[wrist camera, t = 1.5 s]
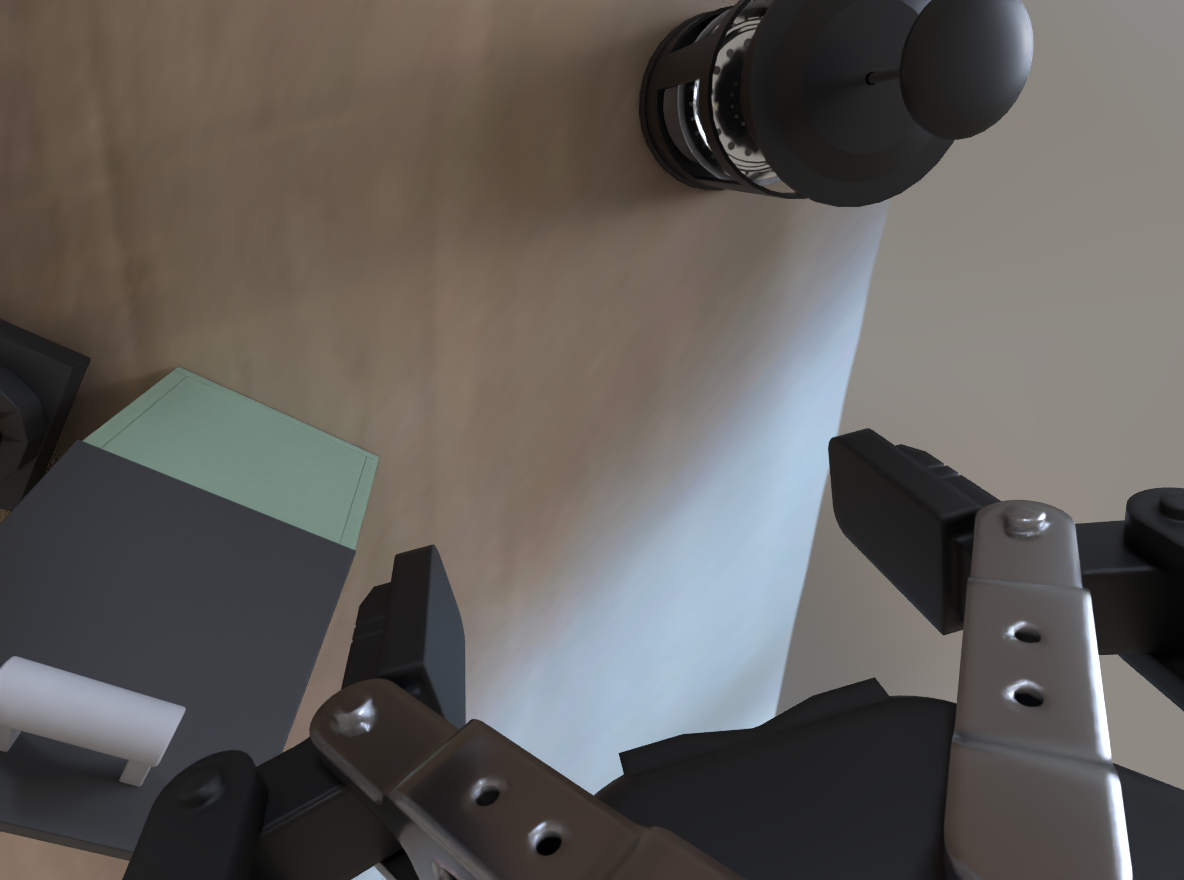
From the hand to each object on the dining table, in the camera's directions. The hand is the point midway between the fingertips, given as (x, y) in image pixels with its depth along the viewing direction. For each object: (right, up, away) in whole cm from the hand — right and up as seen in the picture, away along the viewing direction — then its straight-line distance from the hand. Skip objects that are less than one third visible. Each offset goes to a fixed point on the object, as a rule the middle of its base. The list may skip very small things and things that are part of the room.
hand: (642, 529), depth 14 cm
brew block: (-35, +4, +27) cm, 45 cm away
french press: (+6, +22, +28) cm, 36 cm away
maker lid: (-18, -6, +14) cm, 23 cm away
